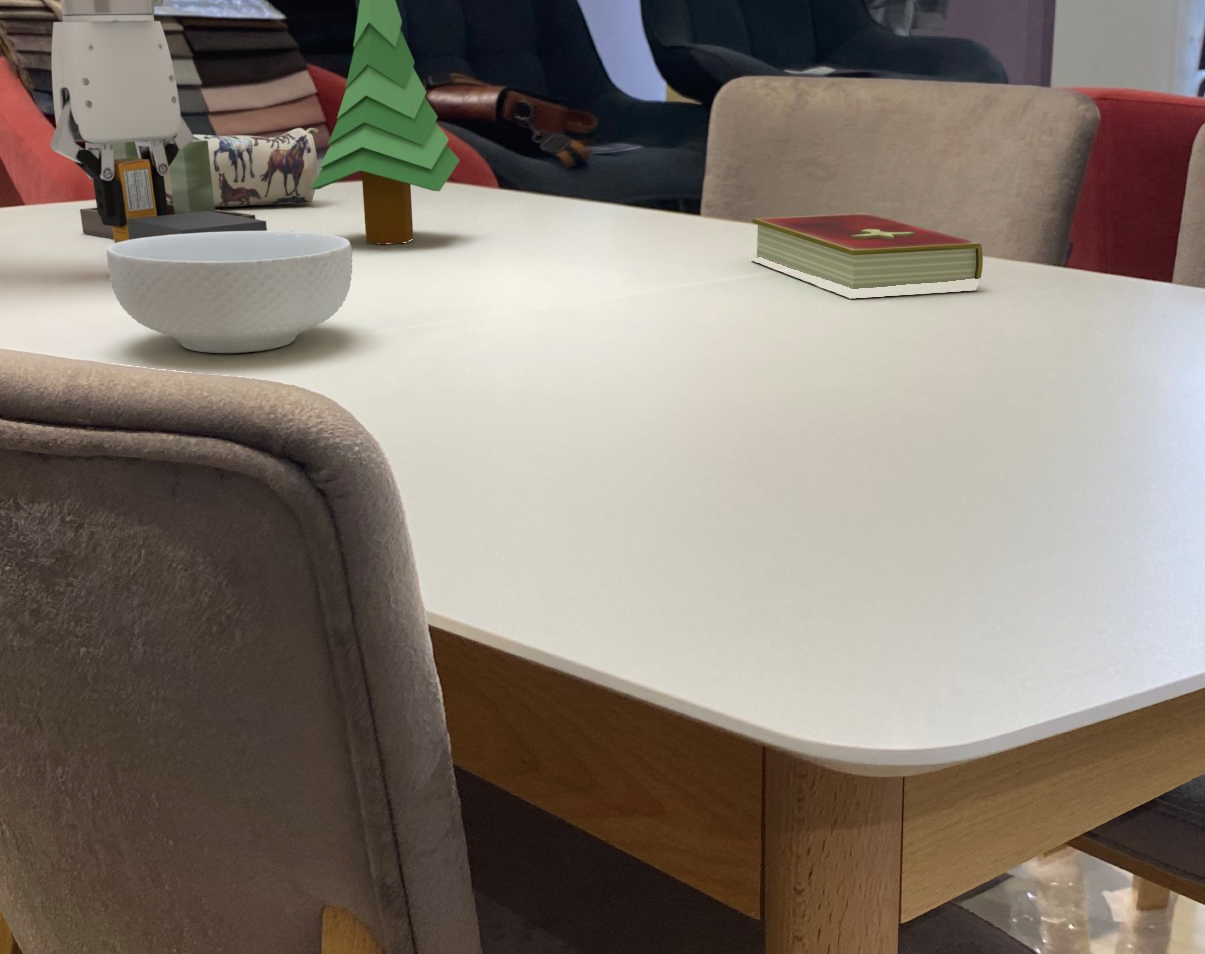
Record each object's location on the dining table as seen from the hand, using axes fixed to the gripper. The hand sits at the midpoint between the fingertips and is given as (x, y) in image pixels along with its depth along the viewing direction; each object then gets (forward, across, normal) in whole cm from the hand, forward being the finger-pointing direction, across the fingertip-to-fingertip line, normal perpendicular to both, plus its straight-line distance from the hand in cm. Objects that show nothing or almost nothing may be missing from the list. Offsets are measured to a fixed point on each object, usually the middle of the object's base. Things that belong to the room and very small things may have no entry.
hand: (134, 221), depth 131 cm
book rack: (+5, -15, -19) cm, 25 cm away
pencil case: (+5, -35, -36) cm, 50 cm away
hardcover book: (+5, -41, +51) cm, 65 cm away
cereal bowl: (+5, +12, +33) cm, 35 cm away
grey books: (+5, -1, +9) cm, 10 cm away
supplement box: (+5, 0, 0) cm, 5 cm away
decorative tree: (+5, -28, +2) cm, 28 cm away
